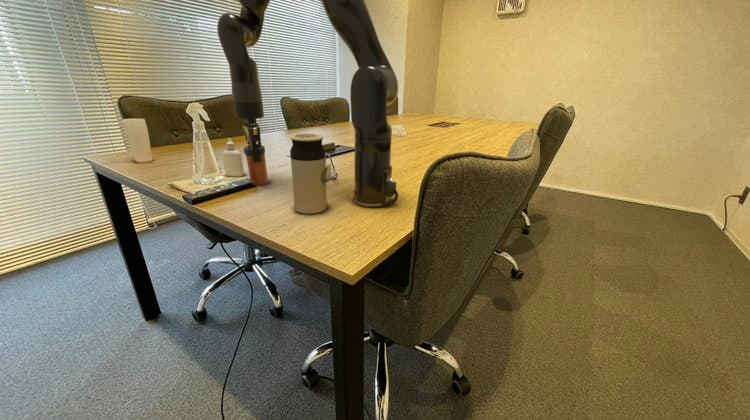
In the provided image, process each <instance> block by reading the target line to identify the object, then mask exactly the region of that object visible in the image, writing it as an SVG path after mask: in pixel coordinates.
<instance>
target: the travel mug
mask: <svg viewBox="0 0 750 420" xmlns="http://www.w3.org/2000/svg"><path fill="white" fill-rule="evenodd" d="M289 138H290V140H291V143H292V146H291V148H290V150H289V153H290V166H291V177H292V178H291V179H292V191H293V201H294V202H293V205H294V210H295V211H296V212H298V213H300V214H304V215H305V214H306V215H312V214H319V213H321V212H323V211H325V210H326V209H328V199H327V196H328V195H327V180H326V164H325V156H326V148H325V147H324V146H323V139H324V135H322V134H319V133H298V134H297V133H296V134H292V135H290V136H289ZM324 148H325V149H324Z"/></svg>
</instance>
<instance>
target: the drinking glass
mask: <svg viewBox="0 0 750 420" xmlns="http://www.w3.org/2000/svg"><path fill="white" fill-rule="evenodd" d="M121 125H122V129H123V131H124V134H125V137H126V140H127V142H128V145H129V147H130V150H131V152H132V154H133V158H134V161H135V162H136V163H138V164H139V163H140V164H143V163H144V164H145V163H149V162H152V161H153V160H154V158H153V153H152V147H151V140H150V136H149V135H150V134H149V131H148V125H147V122H146V119H145V118H124V119H123V118H122V119H121Z"/></svg>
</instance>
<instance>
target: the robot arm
mask: <svg viewBox="0 0 750 420" xmlns="http://www.w3.org/2000/svg"><path fill="white" fill-rule="evenodd" d="M237 2H238V3H239V4H240V5H241V7H240V11H239V15H238V14H235V13H232V12H224V13H223V14H221V15H220V16H219V18H218V20H217V24H216V25H217V27H216V28H217V29H216V31H217V37H218V40H219V43H220V45H221V48H222V52H223V54H224V56H225V59H226V62H227V63H228V70H229V75H230V76H229V77H230V82H231V95H232V102H233V110H234V116H235V117H236V118H237V119H242V120H243V122H242V127H243V131H244V138H245V141H246V144H247V146H251V150H252V157H253V162H255V163H256V162H261V153H260V149H261V147H262V146H263V145H262V140H261V139H262V137H261V128H260V124H258V123H257V119H262V118H264V115H265V113H264V103H263V96H262V89H261V85H260V78H259V69H258V63H257V61H256V60H255V59H253V58H252V57H251V56H250V55H249V52H248V49H250V48H252V47H254V46H255V45H256V44H257V43H258V42H259V40H260V38H261V35H262V32H263V26H264V22H265V16H266V15H265V14H266V11H267V9H268V7H269V4H270V2H271V0H237ZM320 3H321V5H322V8H323V10H324V12H325V15H326V17H327V19H328V21H329V23H330V24H331V26H332V27H333V29H334V31H335V32H336V33H337V34H338V37H340V39H341V40H342V41H343V43H344V44H345V45H346V46H347V48H348V50H349V51H350V52H351V54H352V56H353V58H354V60H355V62H356V64H357V67H358V69H357V70H356V71H355V72H354V73H353V76H352V78H351V81H350V92H349V93H350V94H349V95H350V116H351V117H350V119H351V125H352V127H353V130H354V190H353V195H354V197H353V202H354V203H355V204H357V205H358V206H362V207H365V208H366V207H367V208H379V207H383V208H384V207H386V206H387V205H388V204H389V202H390V201H391V204H392V205H395V203H396V202H397V201H398V198H399V193H398V191H397V181H393V178H392V175H393V173H392V172H393V166H392V165H391V153H392V137H393V127H392V125H391V124H390V122H389V121H388V106H390V105H392V104H393V103H394V102H395V101H396V100H397V97H398V94H399V81H398V78H397V74H396V73H395V70H394V69H393V67H392V65H391V63H390V61H389V59H388V57H387V55H386V52H385V51H384V48H383V46H382V44H381V42H380V39H379V38H378V37H379V36H378V34H377V32H376V31H377V30H376V28H375V25H374V22H373V20H372V17H371V15H370V12H369V9H368V6H367V4H366V0H320ZM393 197H394V198H393ZM391 198H393V200H391Z"/></svg>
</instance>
